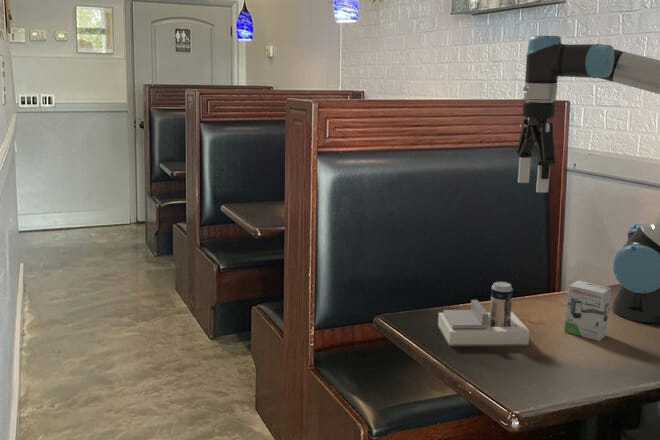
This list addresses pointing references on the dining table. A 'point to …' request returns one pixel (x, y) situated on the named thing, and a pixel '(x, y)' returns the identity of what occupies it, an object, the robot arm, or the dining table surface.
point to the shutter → (468, 317)
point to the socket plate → (485, 334)
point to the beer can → (500, 304)
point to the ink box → (587, 310)
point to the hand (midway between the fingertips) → (532, 187)
